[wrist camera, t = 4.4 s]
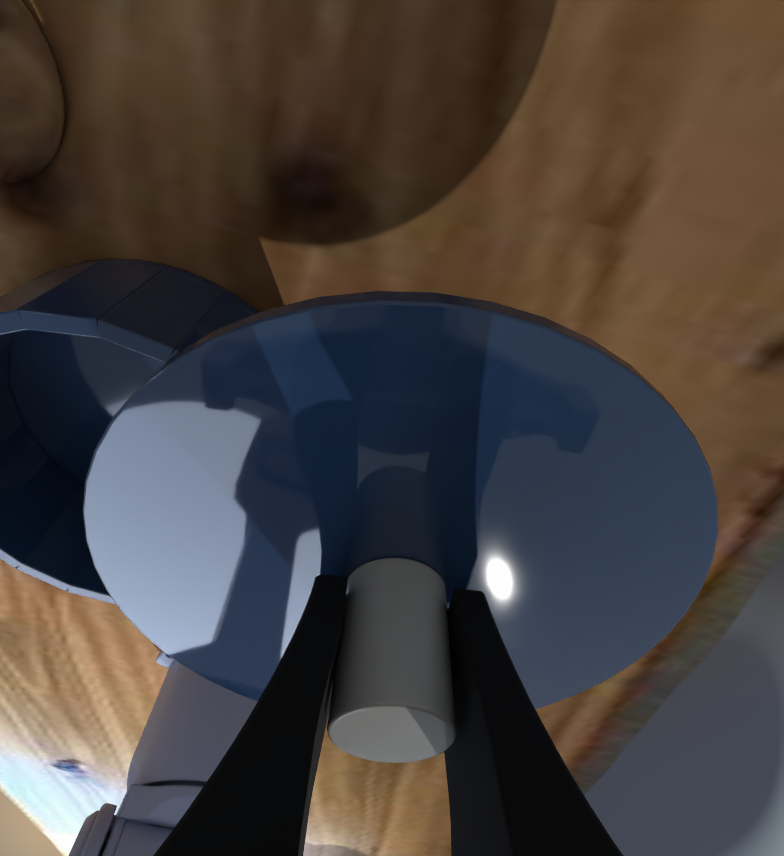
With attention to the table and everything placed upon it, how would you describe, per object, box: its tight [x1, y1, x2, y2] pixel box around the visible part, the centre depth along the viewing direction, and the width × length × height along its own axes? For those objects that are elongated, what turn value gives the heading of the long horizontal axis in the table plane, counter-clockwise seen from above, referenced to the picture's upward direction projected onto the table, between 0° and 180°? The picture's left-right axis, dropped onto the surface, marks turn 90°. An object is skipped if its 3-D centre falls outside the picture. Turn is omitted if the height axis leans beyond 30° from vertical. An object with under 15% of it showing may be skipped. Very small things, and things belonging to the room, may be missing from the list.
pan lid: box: [83, 291, 718, 763], centre depth 11 cm, size 14×14×4 cm
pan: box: [0, 259, 259, 605], centre depth 19 cm, size 13×19×5 cm
